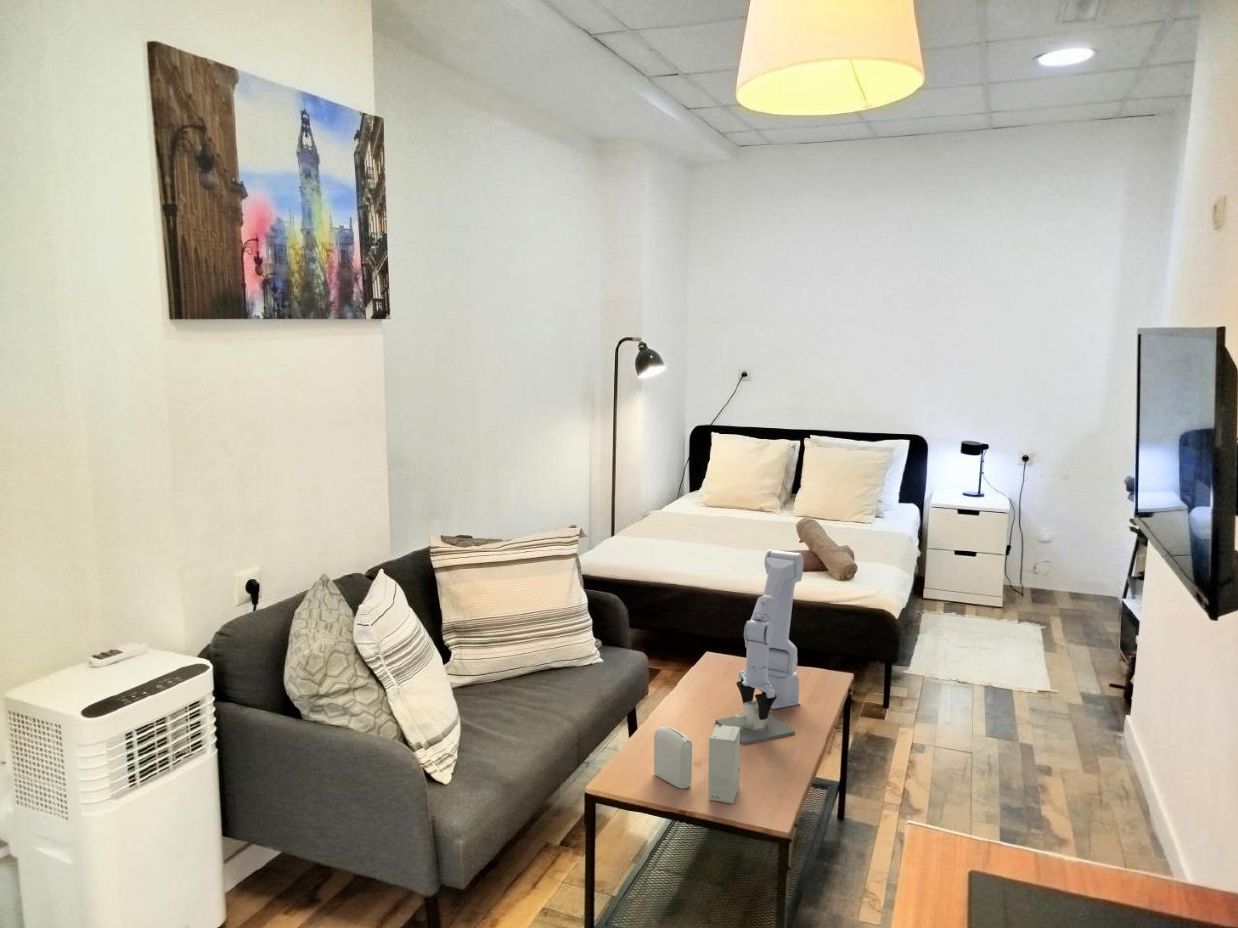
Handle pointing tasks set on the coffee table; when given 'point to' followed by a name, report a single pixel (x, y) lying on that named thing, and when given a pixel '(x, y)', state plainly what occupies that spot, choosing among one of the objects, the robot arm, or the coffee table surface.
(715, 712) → the coffee table surface
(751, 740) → the mat
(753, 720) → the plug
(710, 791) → the skincare box
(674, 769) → the photo printer
